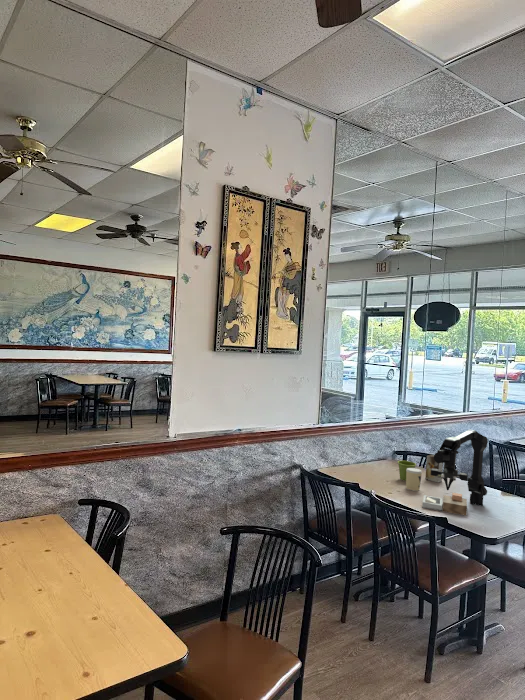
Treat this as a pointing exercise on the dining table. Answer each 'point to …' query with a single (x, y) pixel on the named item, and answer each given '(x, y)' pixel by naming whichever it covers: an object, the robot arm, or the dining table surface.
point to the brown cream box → (454, 505)
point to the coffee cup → (413, 479)
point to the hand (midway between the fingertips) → (447, 490)
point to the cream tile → (430, 500)
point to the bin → (431, 505)
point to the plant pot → (403, 466)
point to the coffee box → (434, 465)
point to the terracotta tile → (456, 496)
